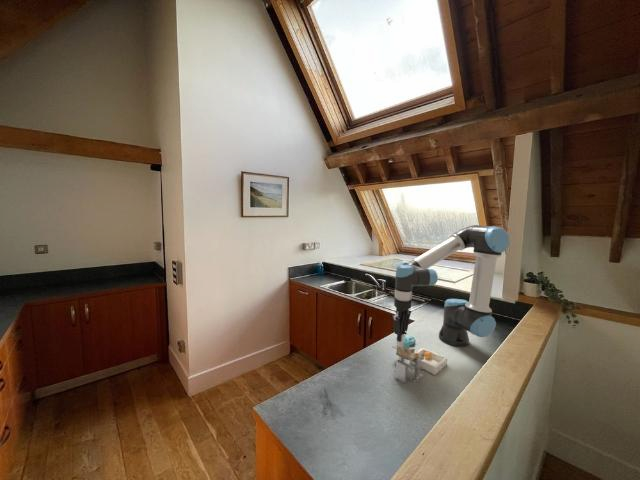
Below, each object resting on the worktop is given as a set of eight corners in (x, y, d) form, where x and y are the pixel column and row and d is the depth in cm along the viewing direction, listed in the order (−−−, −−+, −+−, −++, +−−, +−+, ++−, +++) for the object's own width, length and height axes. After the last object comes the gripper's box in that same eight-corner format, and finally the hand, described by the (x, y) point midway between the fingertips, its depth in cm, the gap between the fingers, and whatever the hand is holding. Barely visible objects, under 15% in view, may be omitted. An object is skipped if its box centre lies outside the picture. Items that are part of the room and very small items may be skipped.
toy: (417, 335, 146) (412, 343, 132) (416, 343, 146) (411, 352, 132) (399, 330, 150) (392, 337, 137) (398, 339, 150) (392, 347, 137)
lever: (396, 347, 127) (398, 342, 128) (423, 359, 117) (424, 353, 118) (380, 346, 118) (381, 341, 118) (407, 360, 108) (409, 353, 108)
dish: (422, 354, 131) (422, 347, 131) (446, 365, 123) (447, 357, 122) (409, 363, 124) (410, 355, 123) (435, 375, 115) (435, 367, 114)
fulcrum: (403, 365, 121) (404, 348, 120) (423, 375, 114) (424, 357, 113) (389, 375, 114) (390, 356, 113) (410, 386, 107) (411, 366, 106)
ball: (422, 354, 126) (423, 358, 128) (429, 357, 124) (430, 361, 125) (425, 349, 128) (426, 353, 129) (432, 351, 125) (433, 356, 127)
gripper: (403, 293, 128) (400, 339, 131) (387, 299, 120) (385, 348, 122) (417, 297, 123) (414, 345, 125) (402, 304, 114) (399, 355, 117)
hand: (399, 346), depth 124 cm, fingers closed
